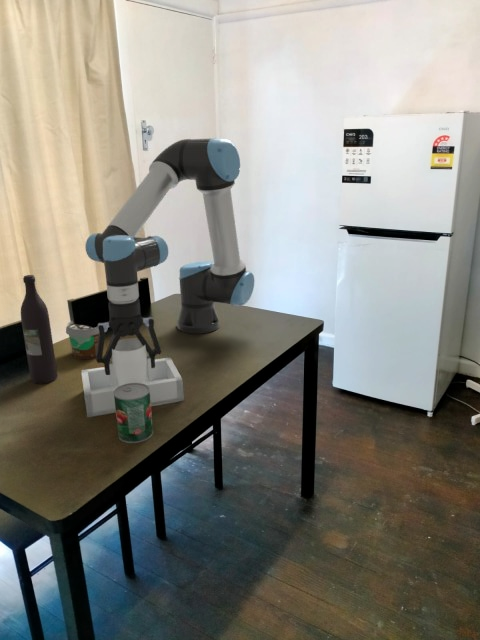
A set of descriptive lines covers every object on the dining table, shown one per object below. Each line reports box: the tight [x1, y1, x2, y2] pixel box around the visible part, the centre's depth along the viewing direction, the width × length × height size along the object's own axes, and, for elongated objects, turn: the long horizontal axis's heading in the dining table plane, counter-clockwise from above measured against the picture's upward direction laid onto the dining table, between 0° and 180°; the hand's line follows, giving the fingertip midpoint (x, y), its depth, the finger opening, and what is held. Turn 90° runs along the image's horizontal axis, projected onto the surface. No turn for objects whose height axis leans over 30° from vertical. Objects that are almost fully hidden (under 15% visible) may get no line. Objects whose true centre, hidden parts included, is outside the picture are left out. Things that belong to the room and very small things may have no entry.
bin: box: [80, 357, 185, 418], centre depth 133 cm, size 24×15×6 cm, turn 109°
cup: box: [110, 337, 148, 386], centre depth 132 cm, size 9×9×12 cm
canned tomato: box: [114, 383, 154, 444], centre depth 115 cm, size 8×8×11 cm
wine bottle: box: [20, 274, 58, 385], centre depth 139 cm, size 7×7×30 cm
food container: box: [65, 320, 99, 360], centre depth 158 cm, size 12×6×10 cm, turn 62°
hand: (131, 382), depth 133 cm, fingers closed on cup, 9 cm apart
